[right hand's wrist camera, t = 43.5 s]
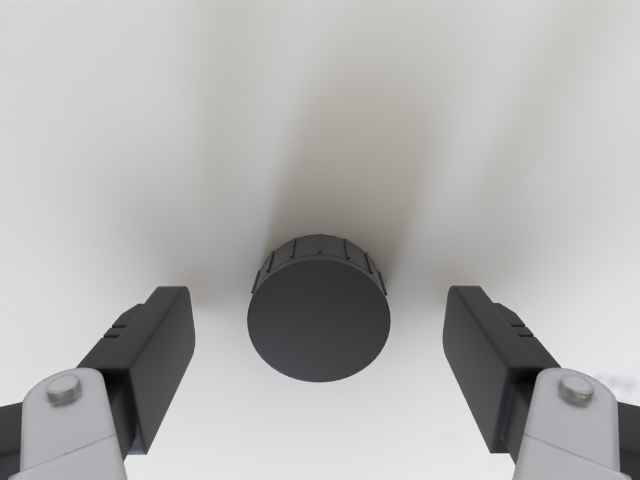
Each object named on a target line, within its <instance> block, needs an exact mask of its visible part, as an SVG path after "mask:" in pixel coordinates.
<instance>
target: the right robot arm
mask: <svg viewBox="0 0 640 480" xmlns="http://www.w3.org/2000/svg"><path fill="white" fill-rule="evenodd" d="M194 348H195V330H194V322H193V315H192V307H191V299H190V293H189V290H188V288H187V287H186V286H160V287H157V288H156V290H155V291H154V292H153V293H152V295H151V296H150V297H149V298H148V300H147V301H146V302H145V304H137V305H136V306H134V307H132V308H131V309H129V310H128V311H126V312H124V313H123V314H122V315H121V316H120V317H119V318H118V319H117V320H116V322H115V323H114V324H113V325H112V328H110V329H109V330H108V331H107V332H106V333H105V334H104V337H103V338H101V339H100V340H99V341H98V343H97V344H96V345H95V346H94V347H93V348H92V350H91V351H90V352H89V353H88V354H87V355H86V357H85V358H84V359H83V360H82V361H81V362H80V364H79V365H78V366H77V367H76V368H74V369H69V370H65V371H62V372H59V373H56V374H54V375H52V376H50V377H48V378H46V379H44V380H42V381H41V382H39V383H38V384H37V385H35V386H34V387H33V388H32V389H31V390H30V391H29V392H28V393H27V395H26V396H25V398H24V400H23V402H20V403H17V404H12V405H7V406H3V407H0V480H128V479H127V475H126V471H125V467H124V463H123V462H124V460H125V458H126V456H127V455H147V453H148V451H149V448H150V446H151V444H152V442H153V440H154V438H155V436H156V433H157V431H158V429H159V427H160V425H161V423H162V421H163V418H164V416H165V414H166V412H167V410H168V408H169V405H170V403H171V401H172V399H173V397H174V395H175V393H176V390H177V388H178V386H179V384H180V382H181V380H182V378H183V375H184V373H185V371H186V369H187V367H188V365H189V363H190V360H191V358H192V356H193V353H194ZM443 348H444V352H445V355H446V358H447V360H448V362H449V364H450V367H451V369H452V371H453V373H454V375H455V377H456V380H457V382H458V384H459V386H460V388H461V390H462V393H463V395H464V397H465V399H466V401H467V404H468V406H469V408H470V410H471V412H472V414H473V417H474V419H475V421H476V423H477V425H478V427H479V430H480V432H481V434H482V436H483V438H484V440H485V443H486V445H487V447H488V449H489V451H490V453H510V455H511V457H512V459H513V461H514V463H515V465H516V467H515V471H514V475H513V479H512V480H640V406H635V405H630V404H626V403H621V402H617V400H616V398H615V396H614V395H613V393H612V392H611V391H610V390H609V389H608V388H607V387H606V386H605V385H603V384H602V383H601V382H599V381H598V380H596V379H594V378H592V377H590V376H588V375H586V374H584V373H581V372H578V371H575V370H571V369H566V368H561V366H560V365H559V364H558V363H557V362H556V361H555V359H554V358H553V357H552V356H551V355H550V353H549V352H548V351H547V350H546V349H545V348H544V346H543V345H542V344H541V343H540V342H539V340H538V339H537V338H536V337H534V336H533V333H532V332H531V331H530V330H529V329H528V328H527V327H525V324H524V323H523V322H522V320H521V319H520V318H519V317H518V316H517V315H516V313H514V312H513V311H511V310H509V309H508V308H506V307H505V306H503V305H501V304H500V303H493V302H492V301H491V300H490V298H489V297H488V296H487V295H486V293H485V292H484V291H483V290H482V288H481V287H480V286H451V287H450V289H449V292H448V298H447V305H446V313H445V321H444V329H443Z"/></svg>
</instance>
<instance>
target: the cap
mask: <svg viewBox="0 0 640 480" xmlns="http://www.w3.org/2000/svg"><path fill="white" fill-rule="evenodd" d="M251 293H253V296H252V299H251V302H250V306H249V309H248V315H247V316H248V317H247V324H248V331H249V336H250V338H251V341H252V344H253V345H254V347H255V349H256V351H257V352H258V354H259V355H260V356H261V357H262V359H263V360H264V361H265V362H266V363H267V364H269V365H270V366H271V367H272V368H274V369H275V370H277V371H279V372H280V373H282V374H284V375H286V376H288V377H291V378H294V379H298V380H302V381H308V382H331V381H336V380H340V379H344V378H347V377H349V376H352V375H354V374H356V373H358V372H359V371H361V370H363V369H364V368H365V367H367V366H368V365H369V364H370V363H371V362H372V361H373V360H374V359H375V358H376V357H377V356H378V355H379V353H380V352H381V350H382V349H383V347H384V345H385V343H386V341H387V338H388V335H389V331H390V322H391V321H390V311H389V306H388V303H387V300H386V295H387V292H386V289H385V286H384V283H383V280H382V277H381V274H380V272H378V271H377V269H376V267H375V265H374V264H373V262H372V261H371V259H370V258H369V256H368V253H367V252H366V253H364V252H363V251H362V250H361V249H360V248H358V247H357V246H355V245H354V244H352V243H350V242H348V241H347V239H344V240H343V239H340V238H337V237H333V236H326V235H321V234H319V235H313V236H305V237H301V238H298V239H295V238H294V239H293V240H292V241H290V242H288V243H286V244H284V245H283V246H281V247H280V248H278V249H277V250H276V251H275V252H274V251H272V252H271V255H270V257H269V258H268V259H267V261H266V262H265V264H264V265H263V267H262V269H261V271H260V270H259V271H258V274H257V277H256V280H255V283H254V286H253V289H252V292H251Z"/></svg>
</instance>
